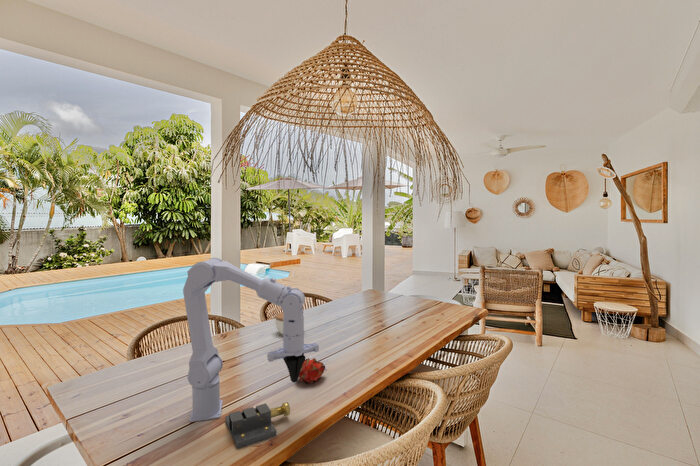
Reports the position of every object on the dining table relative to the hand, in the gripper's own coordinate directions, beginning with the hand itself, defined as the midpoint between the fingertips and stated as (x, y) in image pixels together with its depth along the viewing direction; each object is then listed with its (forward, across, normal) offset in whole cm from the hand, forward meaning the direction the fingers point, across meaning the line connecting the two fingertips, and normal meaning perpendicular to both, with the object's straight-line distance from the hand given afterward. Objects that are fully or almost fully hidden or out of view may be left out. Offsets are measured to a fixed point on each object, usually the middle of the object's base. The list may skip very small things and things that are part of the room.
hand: (294, 380), depth 99 cm
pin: (+9, -8, 0) cm, 12 cm away
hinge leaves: (+10, -12, 0) cm, 16 cm away
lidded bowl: (+10, +23, +66) cm, 71 cm away
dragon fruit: (+10, +13, +17) cm, 24 cm away
